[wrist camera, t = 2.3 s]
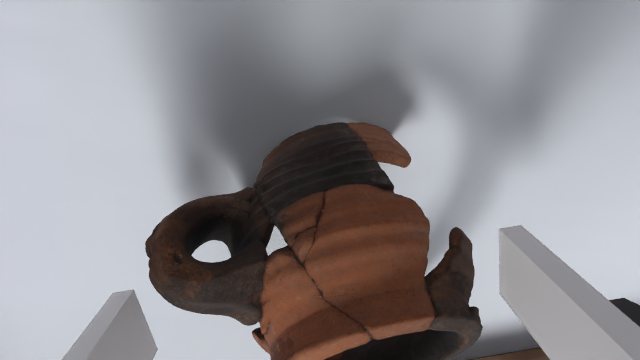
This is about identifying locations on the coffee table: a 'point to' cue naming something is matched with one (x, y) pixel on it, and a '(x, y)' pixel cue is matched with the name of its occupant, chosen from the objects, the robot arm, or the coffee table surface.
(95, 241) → the coffee table surface
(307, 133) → the pottery mug
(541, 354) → the walnut tray
